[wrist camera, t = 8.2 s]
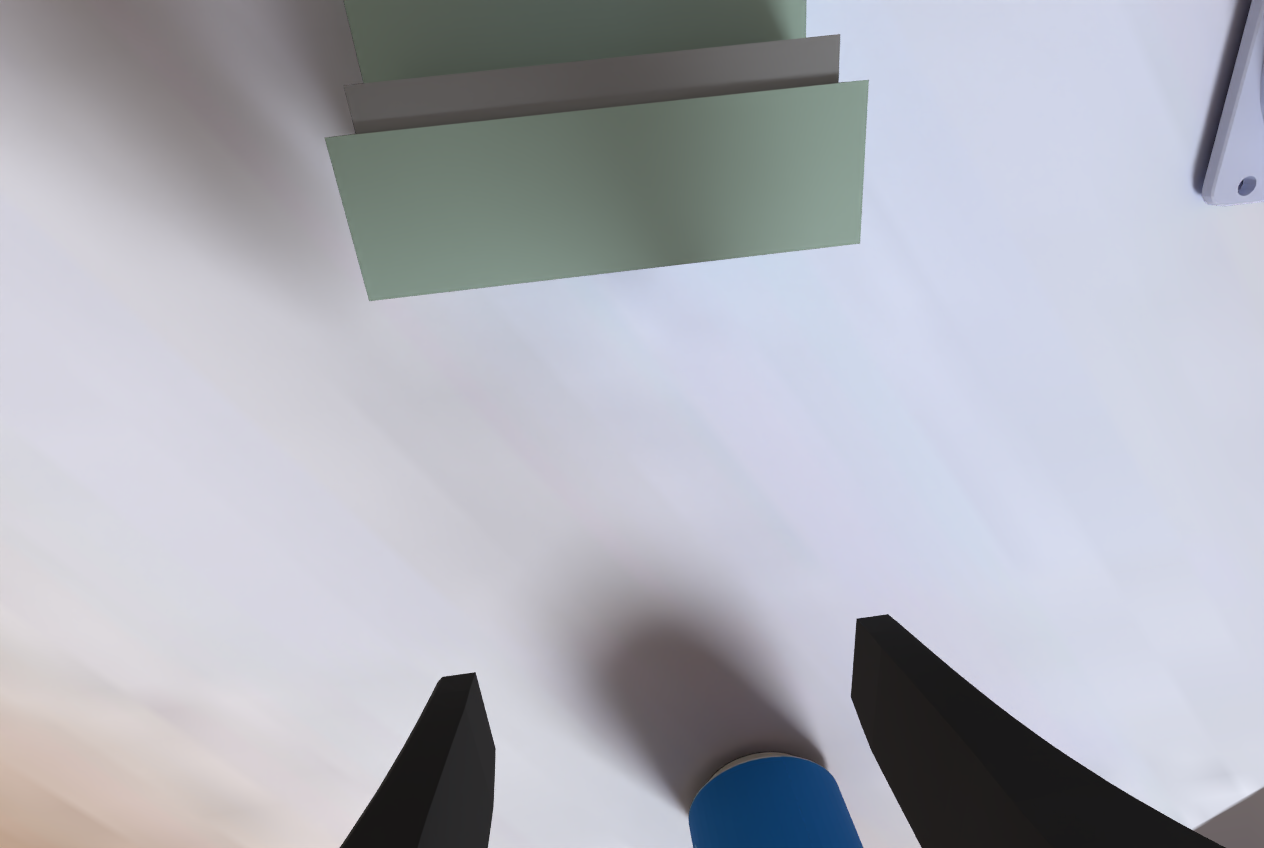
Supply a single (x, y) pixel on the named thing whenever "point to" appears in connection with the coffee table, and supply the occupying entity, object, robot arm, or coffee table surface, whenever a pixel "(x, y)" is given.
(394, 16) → the vise
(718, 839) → the beverage can
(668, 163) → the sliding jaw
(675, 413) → the coffee table surface
